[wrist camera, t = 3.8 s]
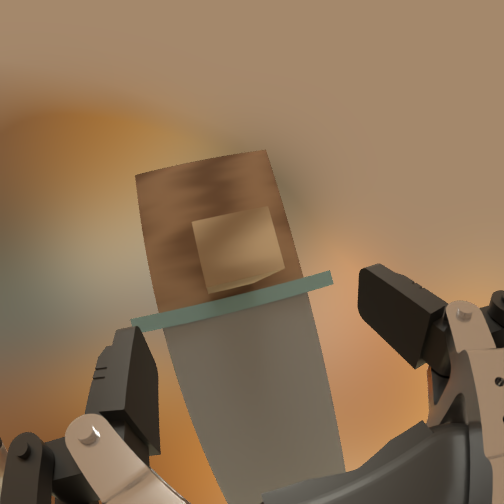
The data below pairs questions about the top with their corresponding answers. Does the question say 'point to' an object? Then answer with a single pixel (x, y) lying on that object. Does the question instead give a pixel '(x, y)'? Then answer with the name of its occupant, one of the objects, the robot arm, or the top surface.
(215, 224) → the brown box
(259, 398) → the stand
